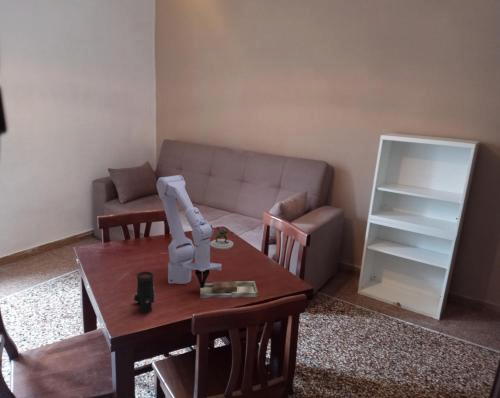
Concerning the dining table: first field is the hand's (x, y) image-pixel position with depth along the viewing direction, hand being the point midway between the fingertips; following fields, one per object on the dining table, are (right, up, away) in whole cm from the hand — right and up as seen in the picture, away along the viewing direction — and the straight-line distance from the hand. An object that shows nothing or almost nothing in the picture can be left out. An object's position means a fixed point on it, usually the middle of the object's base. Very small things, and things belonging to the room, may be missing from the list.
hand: (202, 286), depth 151 cm
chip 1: (+6, -2, +1) cm, 7 cm away
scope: (-19, -5, -11) cm, 23 cm away
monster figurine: (+4, +10, +49) cm, 50 cm away
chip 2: (+11, -2, +2) cm, 11 cm away
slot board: (+10, -3, +2) cm, 11 cm away
